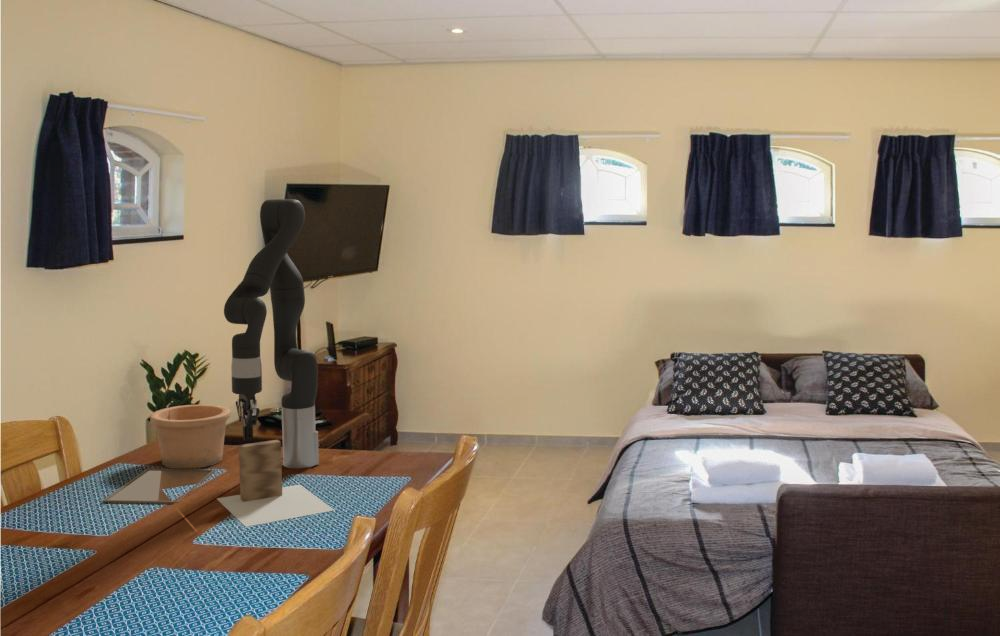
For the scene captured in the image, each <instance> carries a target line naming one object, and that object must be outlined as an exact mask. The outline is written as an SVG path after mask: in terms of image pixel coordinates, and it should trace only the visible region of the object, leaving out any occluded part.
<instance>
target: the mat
mask: <svg viewBox="0 0 1000 636" xmlns="http://www.w3.org/2000/svg"><path fill="white" fill-rule="evenodd" d="M216 500H217V501H218V502H219V503H220V504H221V505H222V506H223V507H224V508H226V509H227V510H228V512H229V513H231V514H232V515H233V516H234V517H235V518H236V520H238V521H239V522H240V523H241V524H242V525H243V526H244V527H245V528H246V527H252V526H257V525H262V524H263V525H264V524H268V523H274V522H279V521H286V520H289V519H296V518H302V517H306V516H310V515H317V514H321V513H322V514H323V513H327V512H328V513H329V512H331V511H332V512H333V511H335V509H334V508H333V507H332V506H331V505H329V504H328V503H326V502H325V501H323V500H322V499H320V498H319V497H318V496H316V495H315V494H314V493H312V492H311V491H310V490H308V489H307V488H305V487H304V486H303V485H301V484H295V485H290V486H282V495H281V496H275V497H270V498H264V499H258V500H252V501H246V502H243V501H242V500H241V497H240V494H234V495H229V496H224V497H223V496H222V497H217V498H216Z"/></svg>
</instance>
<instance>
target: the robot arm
mask: <svg viewBox="0 0 1000 636" xmlns="http://www.w3.org/2000/svg"><path fill="white" fill-rule="evenodd" d="M305 219H306V211H305V207H304V205H303V204H302V202H301V201H299V200H298V199H293V198H282V199H281V198H279V199H277V198H276V199H266V200H264V201H263V202H262V204H261V206H260V211H259V220H260V227H261V234H262V238H263V241H264V242H263V243H264V247H262V249H261V250H260V251H258V252H257V253H256V254H255V256H254V257H253V258H252V260H251V261H250V262H249V264H248V267H247V269H246V272H245V274H244V275H243V276H244V277H243V279H242V281H240V283H238V285H237V286H236V288H235V289H234V290H233V291H232V293H230V295H229V296H228V298H227V299H226V301H225V303H224V306H223V315H224V318H225V320H226V321H227V322H228V323H230V324H233V325H247V328H246V330H245V332H241V333H236V334H235V335H233V337H232V339H231V367H230V368H231V369H230V370H231V392H232V393H233V394H235V395H238V399H237V400H236V401H235V407H236V411H237V414H238V415H237V416H238V421H239V422H240V423H241V426H242V440H243V441H246V442H248V441H249V442H250V441H253V439H254V426H256V425H257V421H258V419H259V416H260V407H257V406H258V401H257V399H256V394H258V393H261V392H262V391H263V377H262V376H263V374H262V373H263V371H262V369H263V368H262V367H263V366H262V360H261V338H262V334H263V331H264V330H263V329H264V326H265V322H266V318H267V306H266V303H265V302H264V300H263V299H261V298H260V297H265V296H266V295H267V294H268V293H269V292H270V293H269V294H270V302H271V309H272V321H273V322H272V323H273V334H274V335H273V338H274V339H273V340H274V341H273V344H274V345H273V347H274V348H273V354H274V355H273V361H274V363H273V364H274V371H275V373H276V375H277V376H278V377H279V379H282V380H283V381H288V382H291V386H290V392H289V393H286V394H284V395H282V397H281V402H280V403H281V427H282V430H281V431H282V432H281V433H282V463H283V464H282V465H283V467H285V468H287V469H294V470H295V469H305V468H312V467H314V466H318V465H319V463H320V461H319V459H320V458H319V457H320V456H319V431H317V430H316V397H317V395H318V381H319V380H318V379H319V378H318V377H319V365H318V364H319V363H318V360H317V357H316V355H315V354H314V353H313V352H311V351H309V350H305V349H299V348H298V344H297V327H298V323H299V321H300V319H301V316H302V314H303V312H304V308H305V305H306V304H305V303H306V296H305V295H306V294H305V286H304V285H305V284H304V279H303V276H302V275H301V274H302V273H301V272H300V271H299V269H298V268H297V266H296V265H295V263H294V262H293V261H292V258H290V256H289V254H288V251H289V250H290V249H291V246H292V245H293V244H294V241H296V238H297V237H298V235H299V234H300V232H301V231H302V229H303V226H304V223H305Z"/></svg>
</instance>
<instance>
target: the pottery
mask: <svg viewBox="0 0 1000 636" xmlns="http://www.w3.org/2000/svg"><path fill="white" fill-rule="evenodd" d="M149 416H150V417H149V420H150V424H152V425H154V428H155V433H156V438H157V443H158V444H157V445H158V447H159V453H160V457H161V465H162V466H164V467H165V468H167V469H200V468H201V469H203V468H207V467H212V466H214V465H216V464H219V463H220V462H222V460H223V455H224V453H223V452H224V446H225V445H224V444H225V438H226V437H225V434H226V425H227V420H229V419H230V418H231V411H230V409H229V408H227V407H225V406H222V405H217V404H202V403H201V404H186V405H177V406H169V407H165V408H161V409H158V410H156V411H154V412H152V413H151V414H150V415H149Z"/></svg>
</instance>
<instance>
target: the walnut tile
mask: <svg viewBox="0 0 1000 636" xmlns="http://www.w3.org/2000/svg"><path fill="white" fill-rule="evenodd" d="M238 461H239V465H238V466H239V488H240V489H239V491H240V492H239V495H240V497H241V500H242V501H243V502H246V501H252V500H258V499H264V498H270V497H275V496H281V495H282V487H283V476H282V475H283V474H282V473H283V472H282V442H281V441H280V440H279V439H272V440H266V441H258V442H253V443H251V442H250V443H244V444H238Z"/></svg>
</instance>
